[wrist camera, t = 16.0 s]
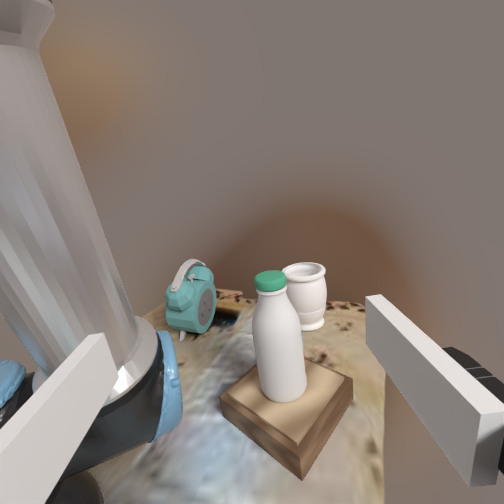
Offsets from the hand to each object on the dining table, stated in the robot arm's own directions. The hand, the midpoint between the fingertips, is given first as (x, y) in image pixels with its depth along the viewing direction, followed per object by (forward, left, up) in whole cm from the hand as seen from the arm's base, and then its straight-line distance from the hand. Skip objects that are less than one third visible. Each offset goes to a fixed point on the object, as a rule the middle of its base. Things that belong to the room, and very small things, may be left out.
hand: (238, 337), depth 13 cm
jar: (-26, +44, -32) cm, 60 cm away
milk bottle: (-15, +19, -27) cm, 36 cm away
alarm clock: (-50, +26, -32) cm, 64 cm away
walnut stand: (-15, +20, -32) cm, 40 cm away
